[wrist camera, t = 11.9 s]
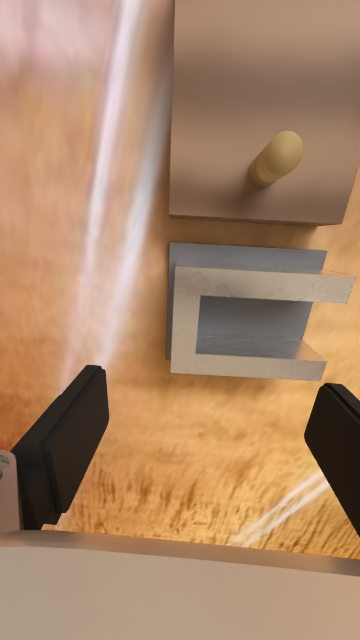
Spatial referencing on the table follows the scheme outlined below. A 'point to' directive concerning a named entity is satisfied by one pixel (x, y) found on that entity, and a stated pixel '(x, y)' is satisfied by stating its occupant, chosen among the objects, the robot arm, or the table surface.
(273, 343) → the c link
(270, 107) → the stand
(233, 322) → the mat
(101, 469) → the table surface
